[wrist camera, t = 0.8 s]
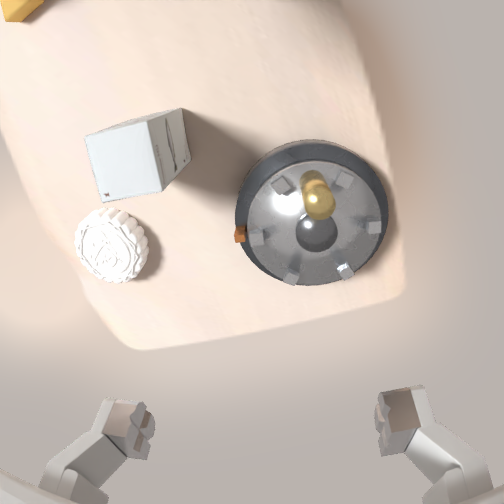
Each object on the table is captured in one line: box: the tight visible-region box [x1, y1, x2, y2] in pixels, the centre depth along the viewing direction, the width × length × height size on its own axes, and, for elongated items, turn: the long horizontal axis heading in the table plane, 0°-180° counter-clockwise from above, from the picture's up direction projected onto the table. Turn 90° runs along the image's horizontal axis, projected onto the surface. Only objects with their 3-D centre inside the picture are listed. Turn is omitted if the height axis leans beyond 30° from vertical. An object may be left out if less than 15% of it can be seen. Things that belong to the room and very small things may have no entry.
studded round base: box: [247, 159, 381, 286], centre depth 37 cm, size 17×17×9 cm
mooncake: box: [75, 207, 149, 284], centre depth 46 cm, size 12×12×4 cm
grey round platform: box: [234, 139, 388, 286], centre depth 41 cm, size 20×20×6 cm
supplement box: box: [85, 108, 191, 203], centre depth 34 cm, size 7×7×13 cm
